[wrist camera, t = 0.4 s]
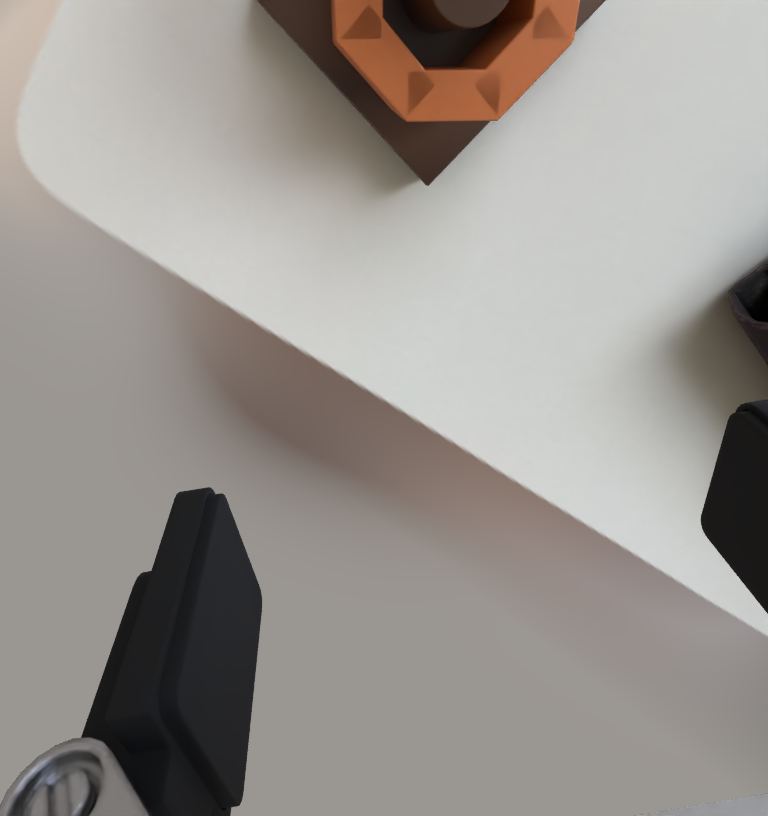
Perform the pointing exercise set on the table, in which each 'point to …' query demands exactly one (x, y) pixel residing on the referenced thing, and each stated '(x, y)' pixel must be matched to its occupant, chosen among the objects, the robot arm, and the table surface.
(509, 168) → the table surface
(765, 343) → the diary
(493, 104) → the ring
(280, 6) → the stand
